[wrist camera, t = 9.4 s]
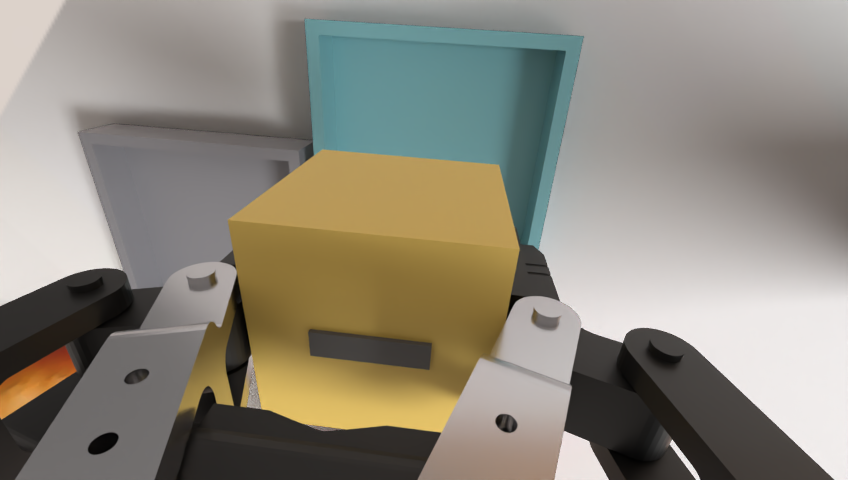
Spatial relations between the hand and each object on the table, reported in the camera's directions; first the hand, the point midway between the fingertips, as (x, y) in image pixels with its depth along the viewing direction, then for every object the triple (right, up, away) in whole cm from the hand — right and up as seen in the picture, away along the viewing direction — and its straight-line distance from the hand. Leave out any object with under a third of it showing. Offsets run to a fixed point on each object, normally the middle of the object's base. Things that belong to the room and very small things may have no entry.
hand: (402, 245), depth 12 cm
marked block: (0, 0, +1) cm, 1 cm away
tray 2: (+1, +5, +10) cm, 12 cm away
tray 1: (-12, +1, +14) cm, 18 cm away
